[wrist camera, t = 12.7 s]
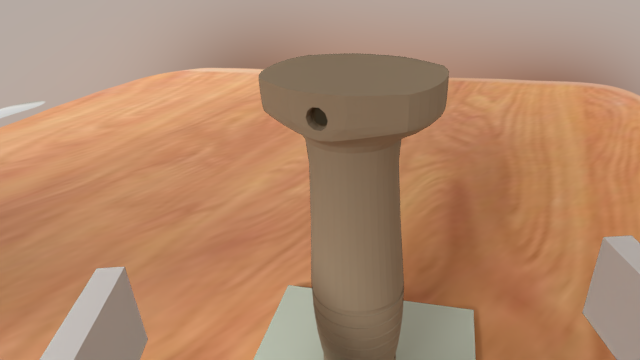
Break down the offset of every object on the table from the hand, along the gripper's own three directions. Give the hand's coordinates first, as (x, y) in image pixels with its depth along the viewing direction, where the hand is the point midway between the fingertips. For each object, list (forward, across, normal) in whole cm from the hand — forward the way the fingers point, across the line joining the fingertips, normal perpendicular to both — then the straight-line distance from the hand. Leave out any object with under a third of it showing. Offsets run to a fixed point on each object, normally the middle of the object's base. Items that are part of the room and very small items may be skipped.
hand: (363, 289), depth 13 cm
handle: (+6, 0, -10) cm, 12 cm away
